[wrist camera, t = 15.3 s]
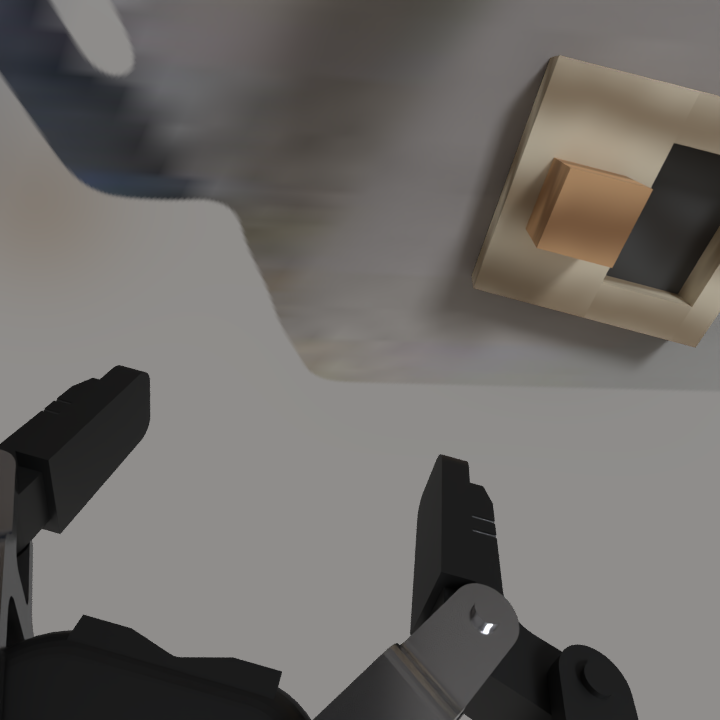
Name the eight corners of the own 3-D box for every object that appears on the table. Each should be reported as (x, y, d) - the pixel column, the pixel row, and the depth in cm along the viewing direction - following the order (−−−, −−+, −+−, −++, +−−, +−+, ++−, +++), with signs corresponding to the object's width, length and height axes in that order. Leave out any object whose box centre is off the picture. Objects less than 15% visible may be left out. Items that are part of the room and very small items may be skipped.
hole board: (550, 57, 33) (559, 55, 30) (811, 124, 32) (843, 127, 30) (471, 275, 41) (473, 288, 38) (679, 330, 40) (695, 347, 38)
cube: (554, 157, 33) (570, 167, 28) (625, 175, 33) (653, 189, 28) (525, 228, 35) (536, 248, 31) (591, 246, 35) (612, 268, 31)
